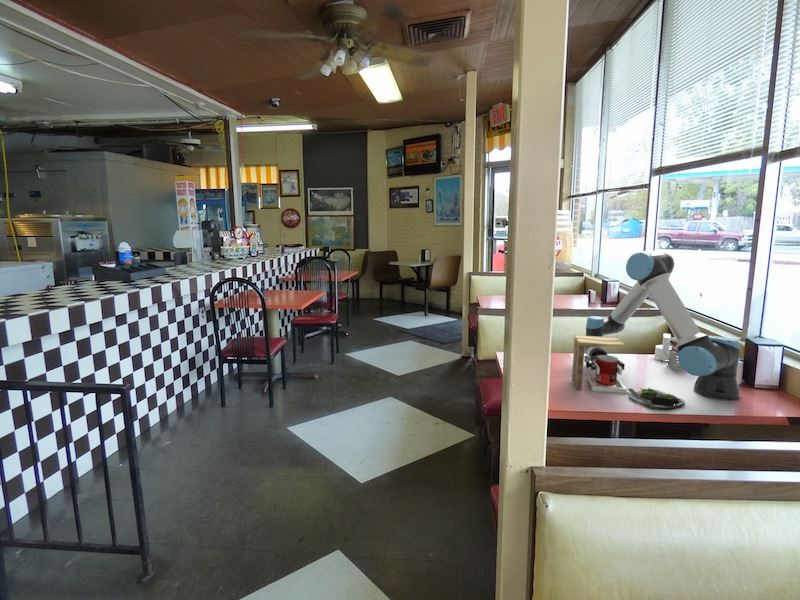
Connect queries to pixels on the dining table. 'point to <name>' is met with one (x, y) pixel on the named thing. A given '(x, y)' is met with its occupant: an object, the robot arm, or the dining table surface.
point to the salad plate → (656, 399)
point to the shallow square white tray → (603, 388)
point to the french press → (673, 357)
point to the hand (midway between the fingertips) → (609, 371)
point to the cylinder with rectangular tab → (660, 348)
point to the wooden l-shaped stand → (579, 353)
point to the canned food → (607, 370)
